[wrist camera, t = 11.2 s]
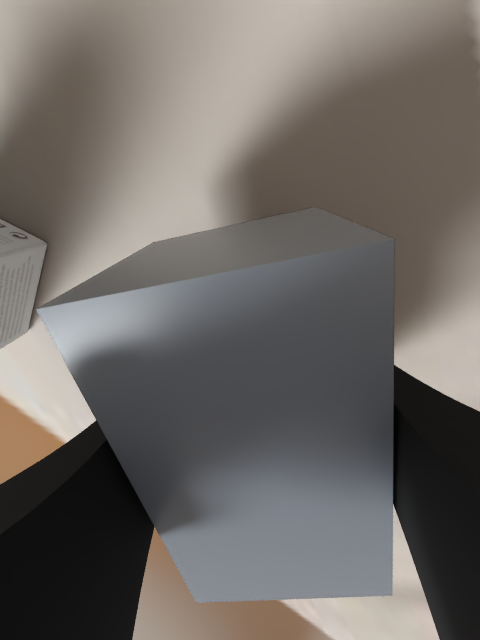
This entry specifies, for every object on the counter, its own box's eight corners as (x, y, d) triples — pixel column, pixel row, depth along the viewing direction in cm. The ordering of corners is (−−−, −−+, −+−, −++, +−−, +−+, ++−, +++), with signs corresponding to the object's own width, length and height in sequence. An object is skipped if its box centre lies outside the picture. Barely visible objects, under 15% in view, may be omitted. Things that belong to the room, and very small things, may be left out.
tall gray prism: (337, 428, 14) (392, 595, 9) (219, 442, 15) (196, 602, 9) (315, 207, 10) (394, 239, 4) (153, 242, 11) (35, 309, 5)
